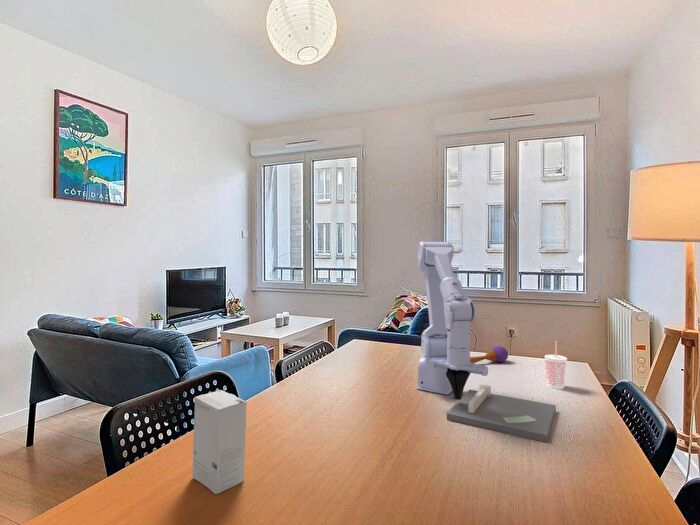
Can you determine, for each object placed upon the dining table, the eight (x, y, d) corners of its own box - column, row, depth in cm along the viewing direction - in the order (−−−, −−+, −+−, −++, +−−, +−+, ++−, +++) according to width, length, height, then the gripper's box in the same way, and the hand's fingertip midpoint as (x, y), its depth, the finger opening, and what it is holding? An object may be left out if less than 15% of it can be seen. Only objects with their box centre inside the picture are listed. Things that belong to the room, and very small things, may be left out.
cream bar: (480, 392, 113) (480, 384, 113) (492, 394, 112) (492, 386, 111) (464, 411, 100) (464, 401, 100) (477, 414, 98) (477, 404, 98)
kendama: (455, 353, 147) (498, 344, 155) (458, 370, 147) (501, 360, 154) (465, 354, 142) (509, 345, 150) (468, 371, 141) (512, 361, 149)
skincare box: (191, 478, 73) (190, 396, 73) (221, 465, 78) (220, 388, 78) (217, 496, 68) (216, 408, 68) (247, 481, 73) (247, 398, 72)
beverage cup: (544, 388, 122) (545, 341, 121) (543, 382, 128) (544, 337, 127) (567, 391, 120) (568, 343, 119) (565, 384, 125) (566, 339, 125)
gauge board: (446, 419, 99) (446, 412, 99) (469, 394, 116) (469, 388, 116) (546, 442, 88) (546, 434, 88) (555, 411, 105) (555, 404, 105)
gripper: (426, 345, 106) (425, 397, 106) (483, 353, 98) (482, 409, 99) (435, 340, 112) (435, 389, 112) (490, 347, 104) (489, 400, 105)
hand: (458, 398), depth 106 cm, fingers closed
